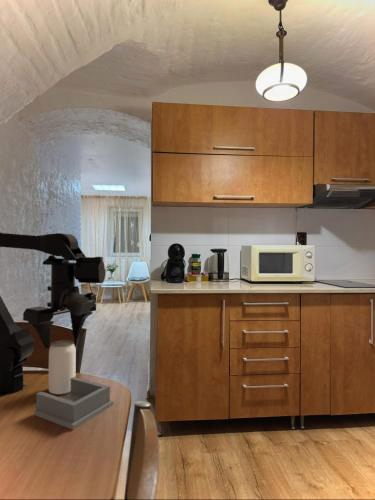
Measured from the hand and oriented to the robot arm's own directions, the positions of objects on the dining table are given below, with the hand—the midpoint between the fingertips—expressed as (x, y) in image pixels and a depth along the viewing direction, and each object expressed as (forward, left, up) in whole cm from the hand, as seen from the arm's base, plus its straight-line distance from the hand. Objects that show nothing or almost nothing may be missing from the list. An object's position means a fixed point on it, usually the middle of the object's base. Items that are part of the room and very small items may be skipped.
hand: (62, 343), depth 85 cm
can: (0, 0, -12) cm, 12 cm away
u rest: (+11, -6, -12) cm, 17 cm away
